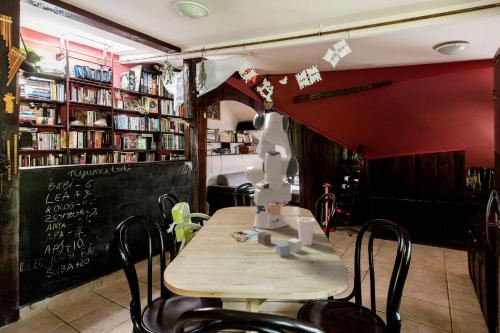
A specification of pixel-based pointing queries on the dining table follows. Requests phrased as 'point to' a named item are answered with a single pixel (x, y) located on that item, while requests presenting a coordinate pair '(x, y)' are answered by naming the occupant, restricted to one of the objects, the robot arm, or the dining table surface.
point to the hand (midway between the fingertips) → (273, 211)
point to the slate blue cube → (283, 249)
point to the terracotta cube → (273, 209)
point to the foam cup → (305, 229)
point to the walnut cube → (264, 238)
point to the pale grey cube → (294, 245)
